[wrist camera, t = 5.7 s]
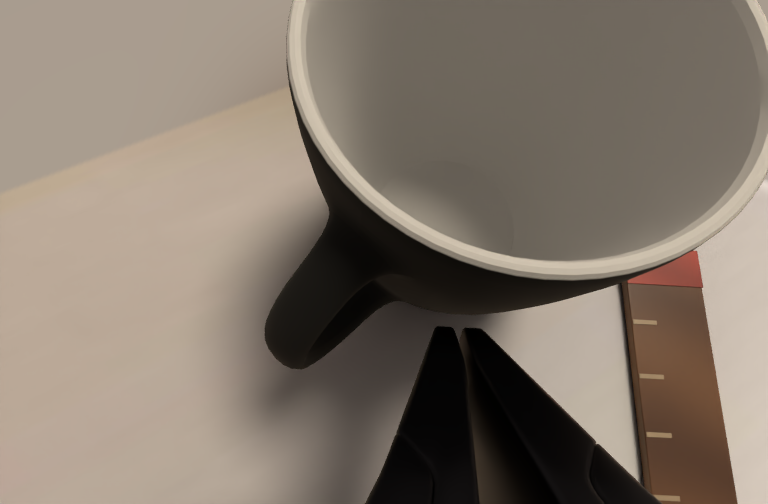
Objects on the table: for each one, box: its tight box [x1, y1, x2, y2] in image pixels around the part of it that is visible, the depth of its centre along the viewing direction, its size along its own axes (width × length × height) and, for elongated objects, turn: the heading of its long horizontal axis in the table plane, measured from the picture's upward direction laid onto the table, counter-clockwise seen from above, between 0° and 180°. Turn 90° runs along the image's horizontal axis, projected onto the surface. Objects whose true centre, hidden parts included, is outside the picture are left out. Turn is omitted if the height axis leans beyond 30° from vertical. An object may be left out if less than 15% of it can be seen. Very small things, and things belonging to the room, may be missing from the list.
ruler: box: [622, 251, 738, 504], centre depth 15 cm, size 16×3×1 cm, turn 177°
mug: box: [265, 0, 768, 369], centre depth 12 cm, size 12×9×10 cm
